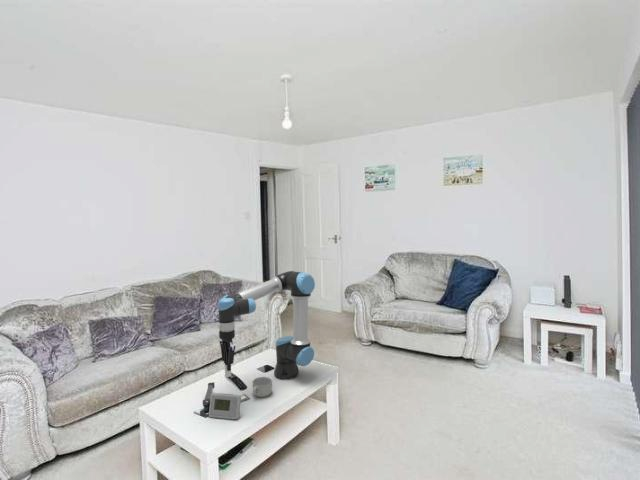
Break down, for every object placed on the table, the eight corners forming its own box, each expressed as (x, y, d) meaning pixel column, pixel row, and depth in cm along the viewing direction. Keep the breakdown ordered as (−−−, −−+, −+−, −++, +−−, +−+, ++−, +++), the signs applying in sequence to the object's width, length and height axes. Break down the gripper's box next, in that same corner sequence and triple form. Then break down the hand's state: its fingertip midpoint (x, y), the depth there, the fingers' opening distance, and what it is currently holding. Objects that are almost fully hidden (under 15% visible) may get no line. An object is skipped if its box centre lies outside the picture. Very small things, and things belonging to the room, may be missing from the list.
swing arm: (210, 406, 181) (210, 401, 181) (202, 407, 181) (201, 402, 181) (215, 386, 203) (215, 382, 203) (207, 386, 202) (207, 382, 202)
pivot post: (210, 407, 188) (210, 400, 188) (216, 412, 183) (216, 405, 183) (197, 412, 184) (197, 404, 183) (203, 418, 178) (203, 410, 178)
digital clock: (206, 417, 179) (205, 396, 178) (218, 408, 187) (217, 388, 186) (234, 424, 173) (233, 402, 172) (245, 414, 181) (244, 393, 180)
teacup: (262, 388, 208) (262, 374, 208) (276, 393, 202) (276, 379, 201) (244, 398, 197) (243, 384, 196) (258, 404, 191) (258, 389, 190)
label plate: (244, 394, 201) (244, 393, 201) (250, 398, 196) (250, 397, 196) (231, 400, 195) (231, 398, 195) (237, 404, 191) (236, 402, 191)
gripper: (214, 328, 183) (215, 374, 185) (225, 334, 173) (227, 382, 175) (228, 325, 188) (229, 370, 189) (240, 331, 178) (241, 378, 179)
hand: (228, 376), depth 182 cm, fingers closed
